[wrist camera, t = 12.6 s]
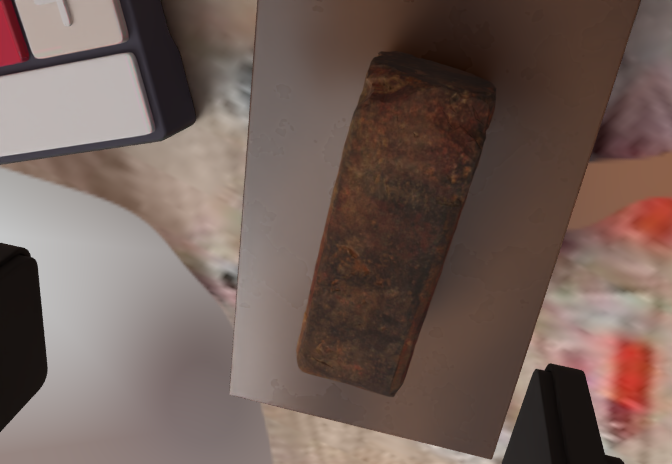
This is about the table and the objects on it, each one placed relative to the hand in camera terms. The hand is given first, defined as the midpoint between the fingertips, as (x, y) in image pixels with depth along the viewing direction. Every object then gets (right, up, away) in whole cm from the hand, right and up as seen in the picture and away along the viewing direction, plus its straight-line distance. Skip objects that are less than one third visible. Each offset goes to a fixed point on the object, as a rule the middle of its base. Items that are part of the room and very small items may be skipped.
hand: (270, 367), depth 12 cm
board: (+4, +4, +13) cm, 14 cm away
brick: (+3, +4, +12) cm, 13 cm away
